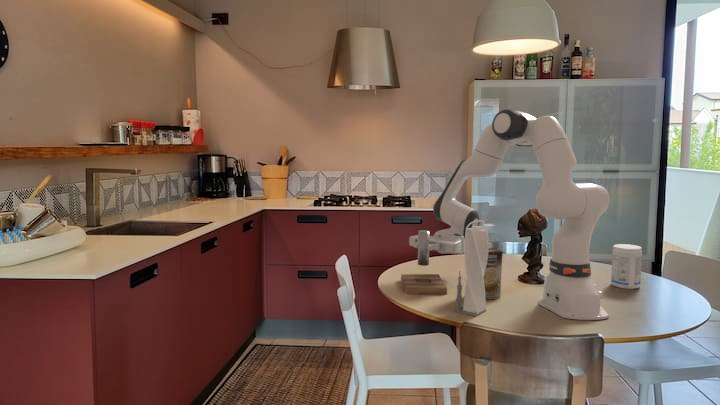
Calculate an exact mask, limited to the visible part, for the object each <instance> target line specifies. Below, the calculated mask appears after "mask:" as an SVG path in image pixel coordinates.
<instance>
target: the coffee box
mask: <svg viewBox="0 0 720 405" xmlns="http://www.w3.org/2000/svg"><path fill="white" fill-rule="evenodd" d="M502 263H503V251H501V250H499V249H496V248H492V247H490V248H489V250H488V260H487V265H486V270H485V273H484V277H483V278H484V287H485V299H486V300H494V299H495V300H496V299H501V292H502V291H501V288H502V268H503V266H502V265H503V264H502Z"/></svg>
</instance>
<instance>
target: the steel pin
mask: <svg viewBox="0 0 720 405" xmlns="http://www.w3.org/2000/svg"><path fill="white" fill-rule="evenodd" d="M430 232H431V231H430V230H425V229H423V230H418V233H417V235H418V248H417V265H418V266H422V267H423V266H424V267H426V266H429V265H430V250H427V245H429V238H430V236H431V235H430V234H431V233H430Z"/></svg>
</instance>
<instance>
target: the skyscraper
mask: <svg viewBox="0 0 720 405" xmlns="http://www.w3.org/2000/svg"><path fill="white" fill-rule="evenodd" d="M474 222H479V223H482V225H481V226H480V225H479V226H472V228H468V227H469V225H470V224H472V223H474ZM485 222H486V221H485V220H483V219H479V220H476V221H473V222H471V223H469V224H468V226H467V227H466V232H465V244H464V253H463V255H464V257H463V258H464V259H463V260H464V269H465V275H466V281H465V289H464V296H463V297H462V295H463V294H462V289H463V285H462V281H461V280H462V276H461V272H462V271H460V270H459V272H458V273H459V274H458V283H457V284H456V290H457V292H456V299H455V301H456V305H455V306H456V307H455V309H454V313H459V314H463V315H467V316H472V317H477V316H479V315H481V314H483V313H486V311H487V299H485V287H484V278H483V277H484V273H485V270H486V265H487V260H488V250H489V247H490V246H489V240H490V239H489V228H487V227H484V226H485ZM462 298H463V299H462ZM462 303H463V304H462ZM462 305H463V306H462Z"/></svg>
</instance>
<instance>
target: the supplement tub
mask: <svg viewBox="0 0 720 405" xmlns="http://www.w3.org/2000/svg"><path fill="white" fill-rule="evenodd" d="M611 253H612V256H611V275H610V278H611V279H610V280H611V281H610V282H611V285H612V286H614V287H616V288H619V289H626V290H627V289H629V290H634V289H638V288H640V286H641V283H642V282H641V279H642V258H643V257H642V256H643V250H642V247H641V246H639V245H636V244H629V243H627V244H626V243H619V244H618V243H617V244H614V245H613V246H612V252H611Z"/></svg>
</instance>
